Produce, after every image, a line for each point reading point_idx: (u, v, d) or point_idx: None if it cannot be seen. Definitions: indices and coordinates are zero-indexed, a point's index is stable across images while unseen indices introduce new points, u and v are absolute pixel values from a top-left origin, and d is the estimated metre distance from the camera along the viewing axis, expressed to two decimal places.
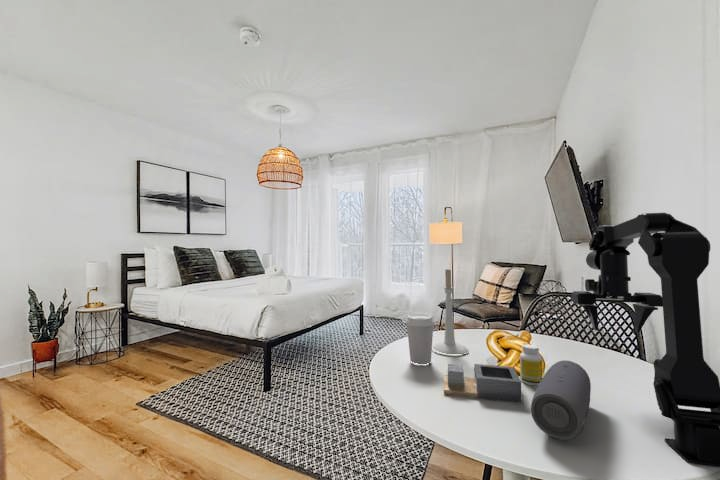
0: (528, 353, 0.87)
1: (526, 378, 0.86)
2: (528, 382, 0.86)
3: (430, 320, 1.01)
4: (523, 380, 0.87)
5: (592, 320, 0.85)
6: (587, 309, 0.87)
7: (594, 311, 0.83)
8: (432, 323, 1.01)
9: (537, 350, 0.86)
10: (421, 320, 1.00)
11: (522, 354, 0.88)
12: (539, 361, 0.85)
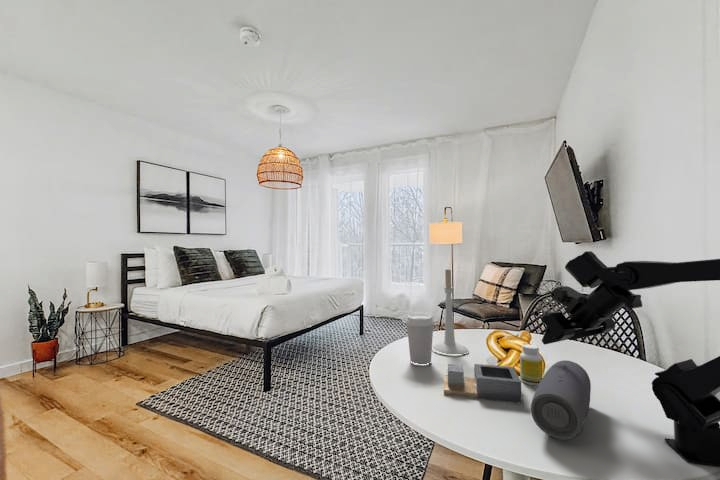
0: (528, 353, 0.87)
1: (526, 378, 0.86)
2: (528, 382, 0.86)
3: (430, 320, 1.01)
4: (523, 380, 0.87)
5: (549, 340, 0.76)
6: None
7: (561, 340, 0.74)
8: (432, 323, 1.01)
9: (537, 350, 0.86)
10: (421, 320, 1.00)
11: (522, 354, 0.88)
12: (539, 361, 0.85)
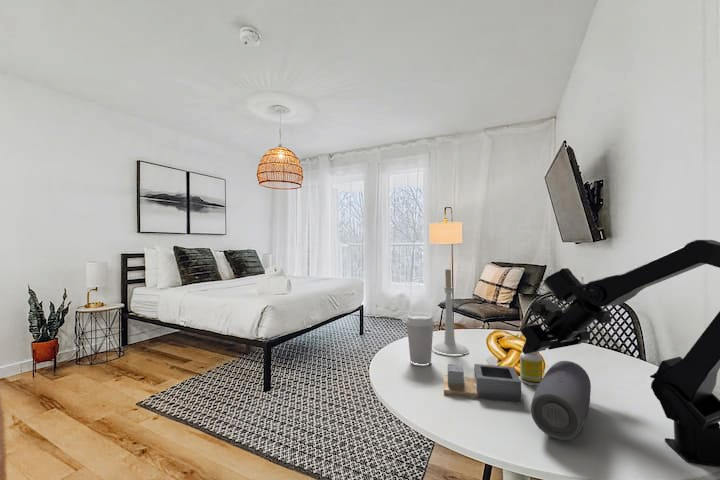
0: (528, 353, 0.87)
1: (526, 378, 0.86)
2: (528, 382, 0.86)
3: (430, 320, 1.01)
4: (523, 380, 0.87)
5: (528, 350, 0.82)
6: None
7: None
8: (432, 323, 1.01)
9: None
10: (421, 320, 1.00)
11: (522, 354, 0.88)
12: (539, 361, 0.85)
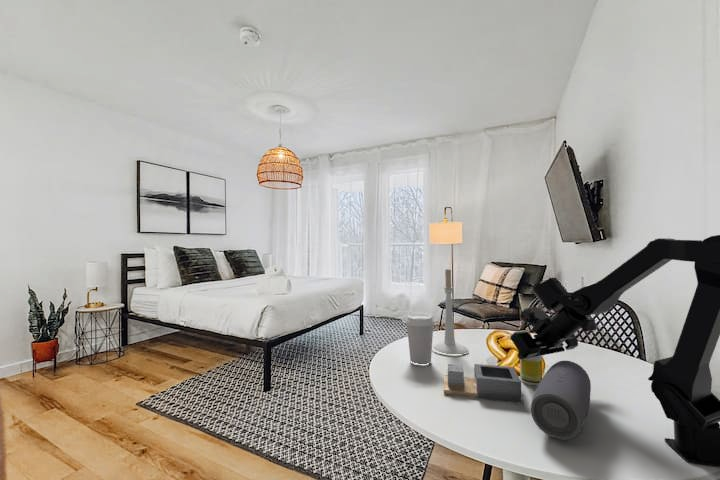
0: None
1: (526, 377, 0.86)
2: (528, 382, 0.86)
3: (430, 320, 1.01)
4: (523, 379, 0.87)
5: None
6: None
7: None
8: (432, 323, 1.01)
9: None
10: (421, 320, 1.00)
11: None
12: (539, 361, 0.85)
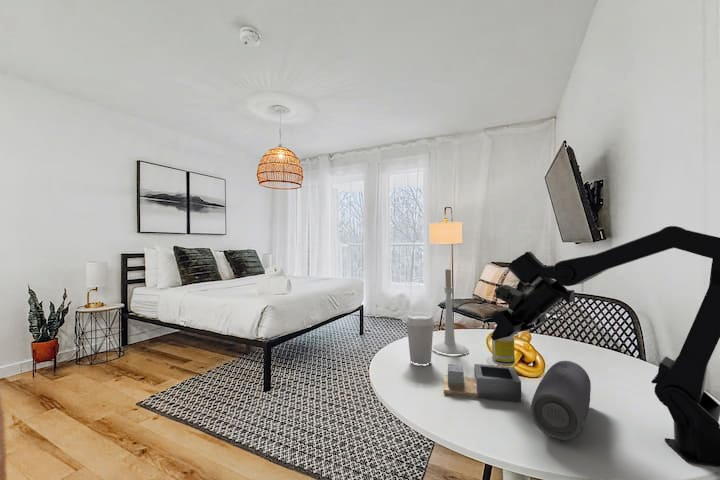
0: None
1: (501, 359, 0.82)
2: (503, 363, 0.81)
3: (430, 320, 1.01)
4: (498, 361, 0.82)
5: (499, 336, 0.81)
6: None
7: None
8: (432, 323, 1.01)
9: None
10: (421, 320, 1.00)
11: None
12: (512, 340, 0.82)
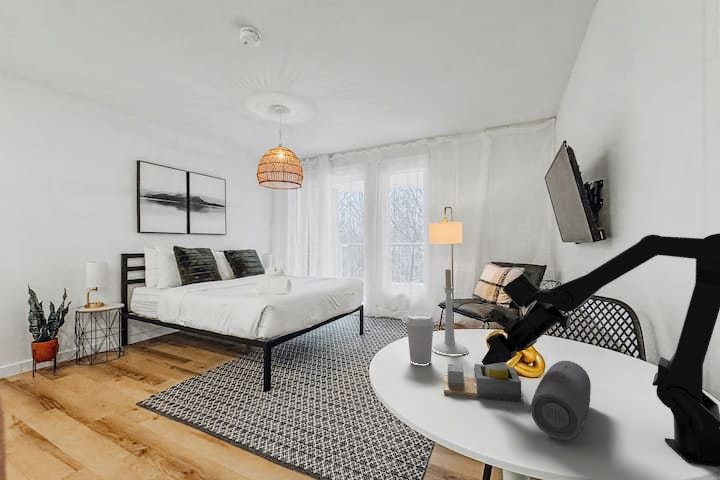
0: None
1: None
2: None
3: (430, 320, 1.01)
4: None
5: (491, 361, 0.78)
6: (492, 350, 0.77)
7: (503, 361, 0.75)
8: (432, 323, 1.01)
9: None
10: (421, 320, 1.00)
11: None
12: (507, 369, 0.80)
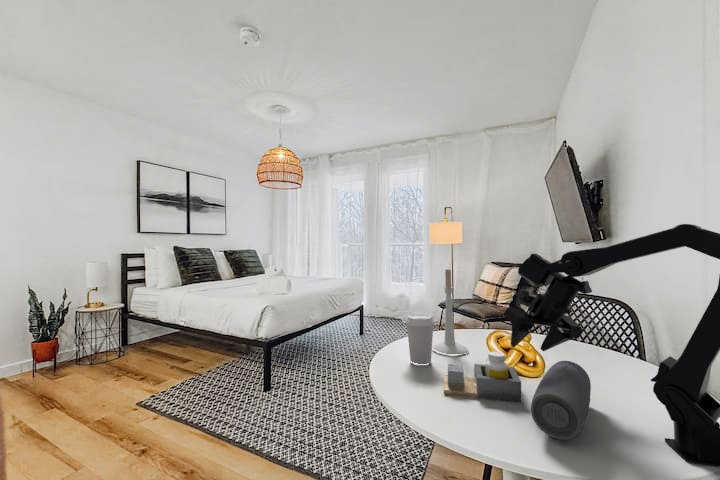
0: (497, 362, 0.80)
1: None
2: None
3: (430, 320, 1.01)
4: None
5: (515, 339, 0.79)
6: (514, 326, 0.79)
7: (524, 335, 0.76)
8: (432, 323, 1.01)
9: (504, 357, 0.81)
10: (421, 320, 1.00)
11: (489, 363, 0.81)
12: (507, 369, 0.80)
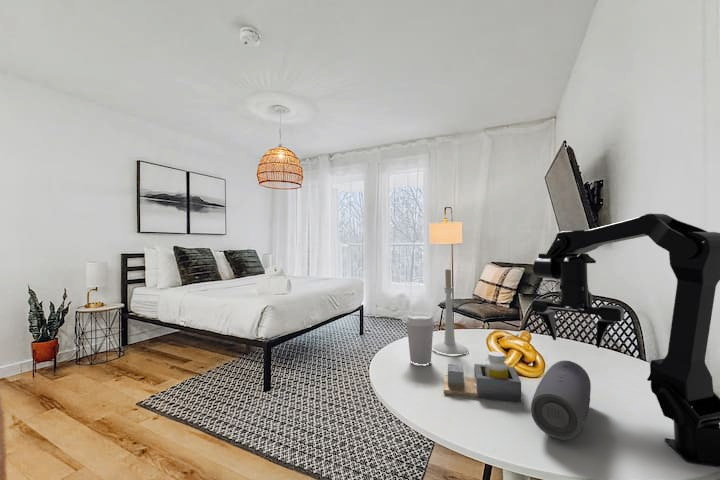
0: (497, 362, 0.80)
1: None
2: None
3: (430, 320, 1.01)
4: None
5: None
6: None
7: (546, 319, 0.82)
8: (432, 323, 1.01)
9: (504, 357, 0.81)
10: (421, 320, 1.00)
11: (489, 363, 0.81)
12: (507, 369, 0.80)
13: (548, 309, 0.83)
